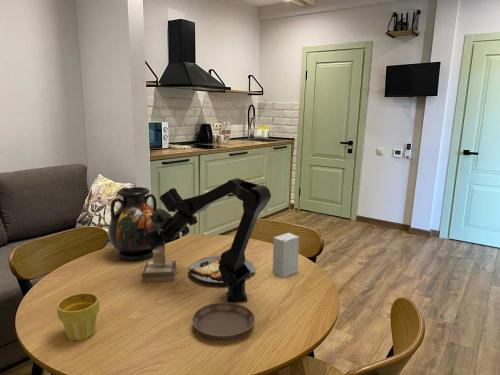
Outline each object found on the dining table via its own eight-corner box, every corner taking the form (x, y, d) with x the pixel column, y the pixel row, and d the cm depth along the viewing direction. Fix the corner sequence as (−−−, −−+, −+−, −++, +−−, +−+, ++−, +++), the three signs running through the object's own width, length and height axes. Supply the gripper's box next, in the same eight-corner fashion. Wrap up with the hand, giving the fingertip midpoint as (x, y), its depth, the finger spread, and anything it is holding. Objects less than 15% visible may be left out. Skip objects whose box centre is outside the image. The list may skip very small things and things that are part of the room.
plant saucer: (222, 304, 119) (222, 295, 118) (266, 325, 108) (267, 315, 107) (179, 328, 105) (179, 319, 105) (225, 355, 94) (225, 344, 94)
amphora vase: (119, 269, 143) (114, 198, 137) (103, 252, 160) (98, 188, 154) (171, 256, 156) (169, 191, 150) (151, 242, 172) (148, 182, 167)
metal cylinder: (159, 267, 135) (158, 240, 133) (150, 264, 137) (149, 238, 135) (168, 262, 139) (167, 237, 137) (159, 260, 141) (158, 235, 139)
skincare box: (287, 267, 146) (288, 231, 143) (298, 273, 142) (300, 235, 139) (271, 273, 141) (272, 236, 138) (282, 279, 136) (284, 240, 133)
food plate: (222, 293, 125) (222, 283, 124) (175, 275, 139) (175, 266, 138) (265, 271, 144) (265, 262, 144) (220, 257, 158) (220, 249, 158)
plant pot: (55, 348, 95) (52, 313, 93) (64, 326, 105) (61, 294, 103) (99, 342, 98) (96, 308, 96) (103, 321, 108) (100, 290, 106)
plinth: (173, 280, 134) (173, 272, 133) (142, 281, 133) (141, 273, 132) (176, 267, 145) (175, 260, 144) (147, 269, 143) (146, 261, 143)
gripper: (182, 198, 139) (161, 222, 147) (146, 209, 123) (124, 236, 131) (199, 222, 137) (177, 245, 144) (165, 236, 121) (142, 261, 128)
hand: (156, 246), depth 137 cm, fingers closed on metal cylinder, 4 cm apart
